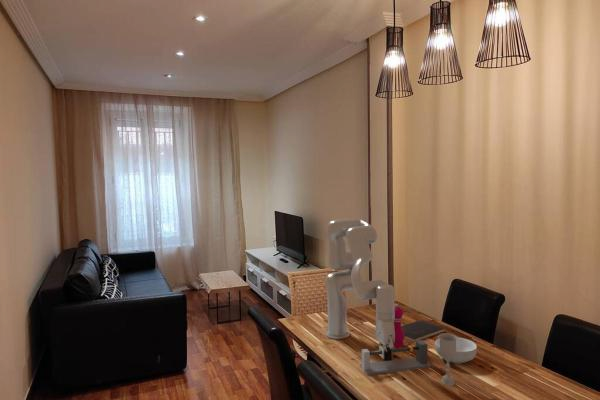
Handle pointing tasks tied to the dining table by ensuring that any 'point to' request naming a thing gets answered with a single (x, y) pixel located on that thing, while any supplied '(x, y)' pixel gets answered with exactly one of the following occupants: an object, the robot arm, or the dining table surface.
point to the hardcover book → (420, 330)
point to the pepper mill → (398, 328)
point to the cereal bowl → (460, 350)
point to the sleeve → (382, 347)
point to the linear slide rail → (396, 364)
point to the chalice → (447, 354)
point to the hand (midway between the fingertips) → (385, 357)
